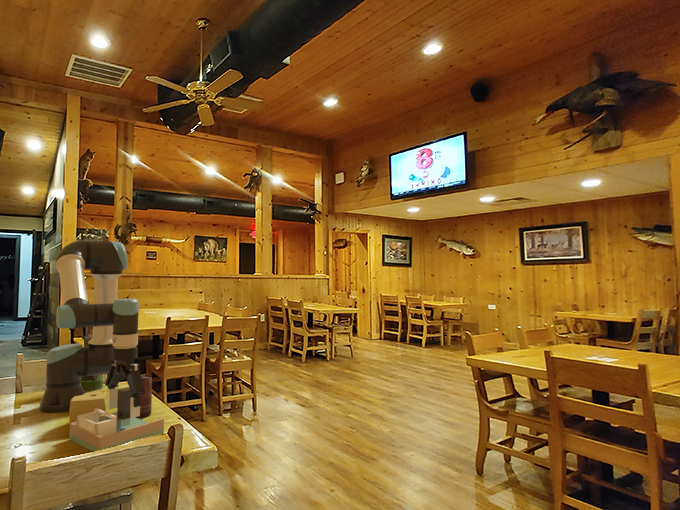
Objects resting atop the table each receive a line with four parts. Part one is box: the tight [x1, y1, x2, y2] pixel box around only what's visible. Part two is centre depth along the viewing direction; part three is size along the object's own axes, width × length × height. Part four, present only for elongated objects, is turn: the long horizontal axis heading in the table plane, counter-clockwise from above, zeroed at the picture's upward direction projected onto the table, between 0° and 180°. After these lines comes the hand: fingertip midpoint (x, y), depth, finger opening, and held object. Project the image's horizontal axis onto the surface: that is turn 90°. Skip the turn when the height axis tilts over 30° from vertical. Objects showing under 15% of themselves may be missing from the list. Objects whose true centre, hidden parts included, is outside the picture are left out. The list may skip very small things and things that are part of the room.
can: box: [135, 375, 153, 419], centre depth 162 cm, size 6×6×14 cm
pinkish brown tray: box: [68, 410, 165, 452], centre depth 141 cm, size 20×20×5 cm
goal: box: [77, 408, 117, 436], centre depth 136 cm, size 12×6×7 cm, turn 54°
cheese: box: [68, 390, 108, 424], centre depth 152 cm, size 10×11×10 cm
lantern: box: [81, 327, 104, 393], centre depth 197 cm, size 14×11×30 cm
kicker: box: [106, 386, 132, 432], centre depth 142 cm, size 7×6×12 cm
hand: (123, 412), depth 143 cm, fingers open, 13 cm apart
